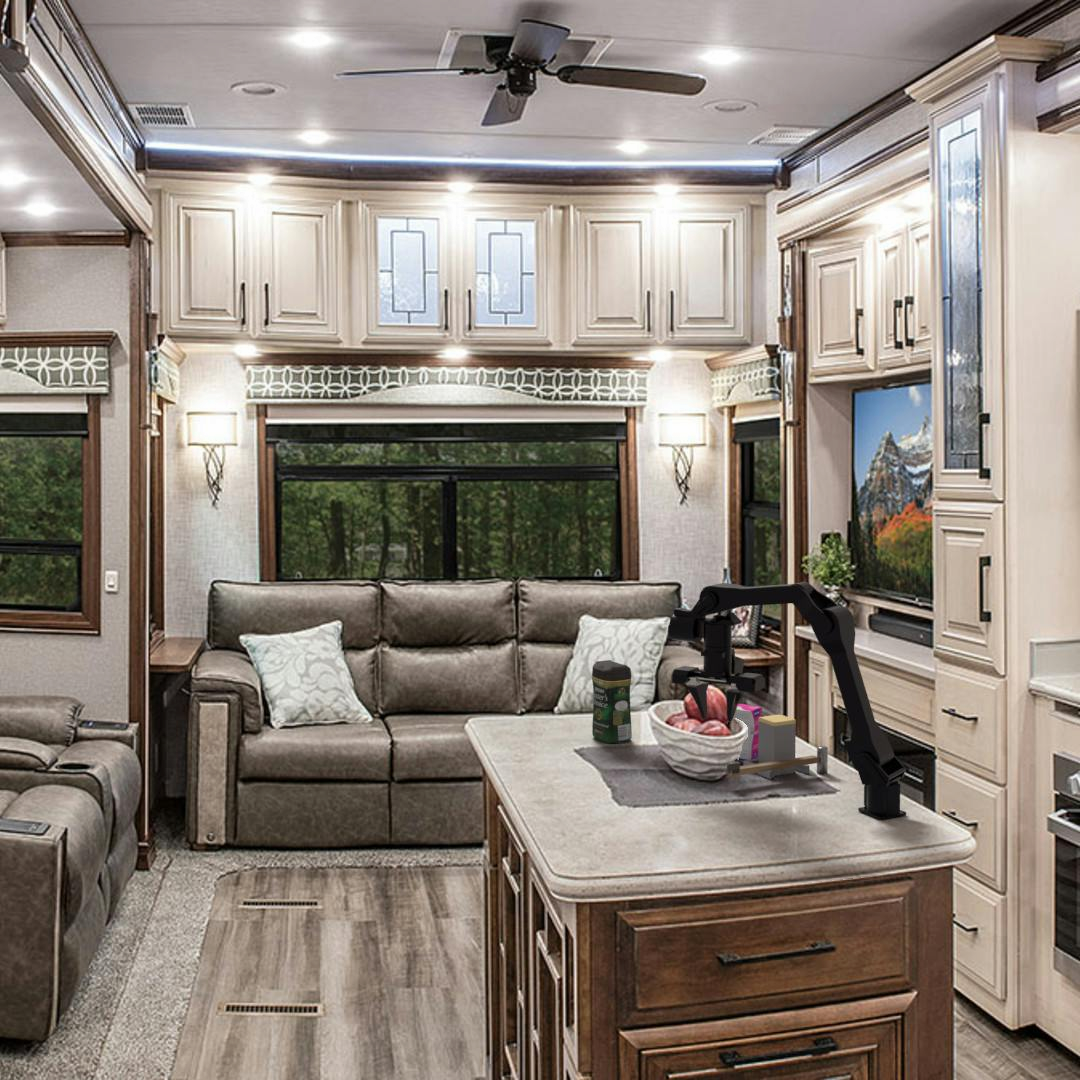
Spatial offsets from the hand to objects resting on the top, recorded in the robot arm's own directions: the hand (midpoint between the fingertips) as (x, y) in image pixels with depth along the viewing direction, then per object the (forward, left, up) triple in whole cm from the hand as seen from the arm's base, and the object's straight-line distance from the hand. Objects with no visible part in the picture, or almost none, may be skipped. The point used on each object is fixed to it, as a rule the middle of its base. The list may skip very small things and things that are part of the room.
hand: (717, 720), depth 254 cm
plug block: (+1, -16, -13) cm, 21 cm away
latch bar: (-5, -11, -10) cm, 16 cm away
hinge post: (-5, -23, -13) cm, 27 cm away
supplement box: (+13, -16, -13) cm, 25 cm away
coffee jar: (+41, +2, -13) cm, 43 cm away
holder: (+1, -16, -13) cm, 21 cm away
